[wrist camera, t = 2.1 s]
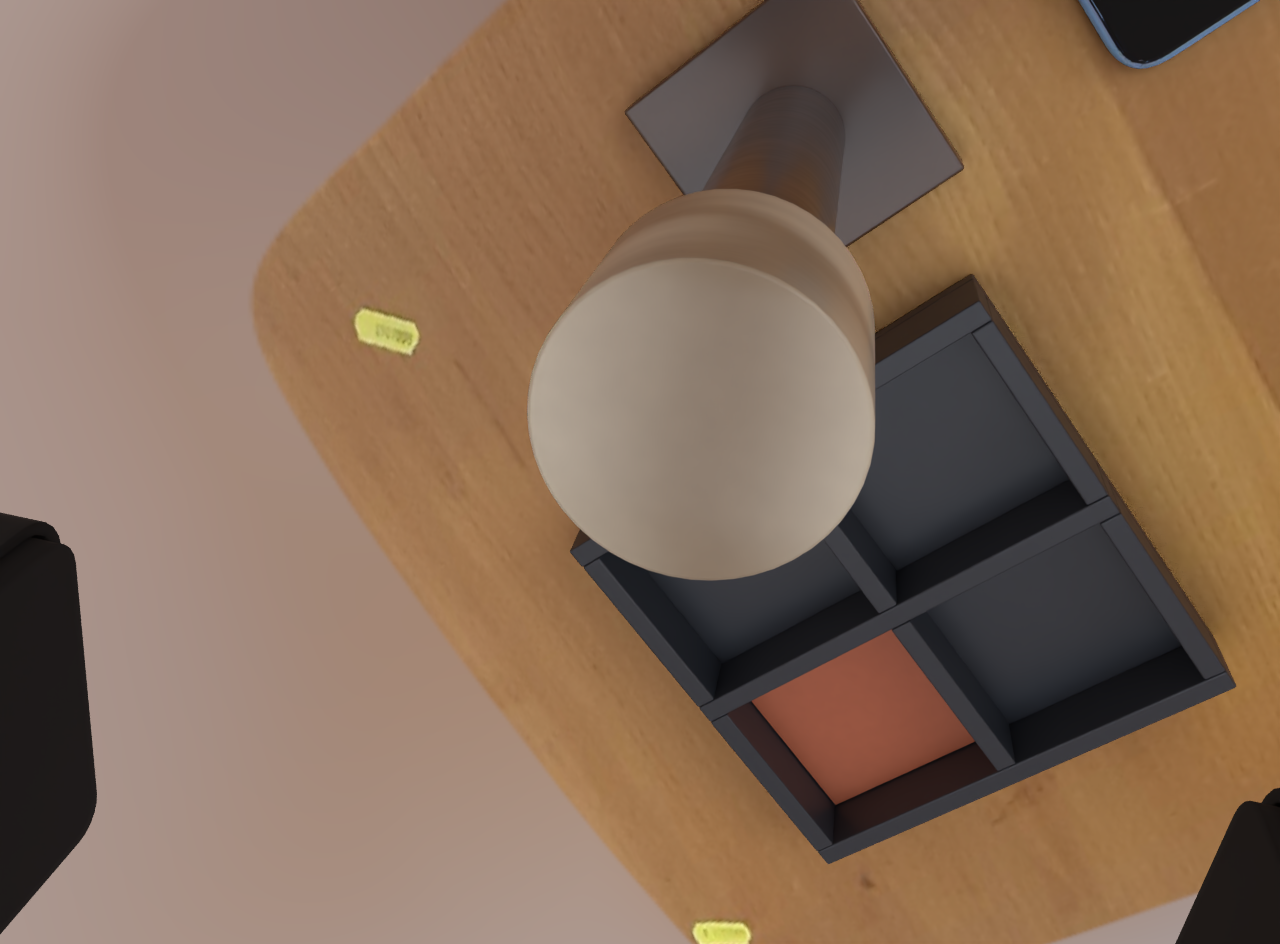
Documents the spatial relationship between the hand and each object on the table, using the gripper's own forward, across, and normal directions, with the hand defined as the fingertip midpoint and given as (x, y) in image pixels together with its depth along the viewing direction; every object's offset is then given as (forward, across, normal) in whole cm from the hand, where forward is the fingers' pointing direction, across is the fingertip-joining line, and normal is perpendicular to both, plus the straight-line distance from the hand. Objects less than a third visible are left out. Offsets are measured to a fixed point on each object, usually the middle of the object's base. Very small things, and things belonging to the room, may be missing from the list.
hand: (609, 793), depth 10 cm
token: (+11, 0, 0) cm, 11 cm away
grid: (+29, -6, +14) cm, 33 cm away
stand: (+29, 0, 0) cm, 29 cm away
